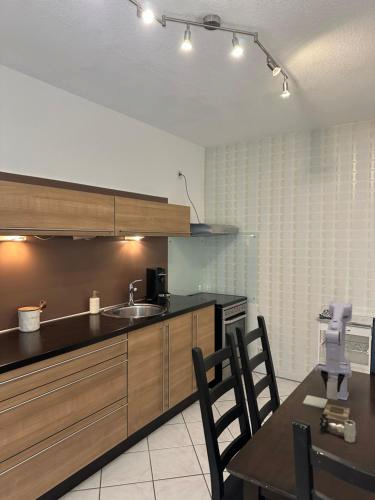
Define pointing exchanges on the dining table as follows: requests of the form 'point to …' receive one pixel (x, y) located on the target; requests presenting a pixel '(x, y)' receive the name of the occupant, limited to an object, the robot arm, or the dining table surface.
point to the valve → (340, 428)
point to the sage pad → (315, 401)
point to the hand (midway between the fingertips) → (332, 390)
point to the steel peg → (332, 389)
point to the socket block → (339, 410)
